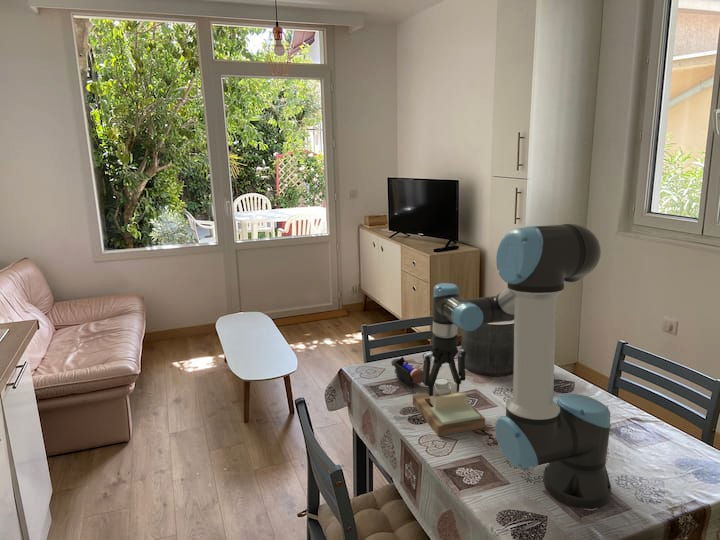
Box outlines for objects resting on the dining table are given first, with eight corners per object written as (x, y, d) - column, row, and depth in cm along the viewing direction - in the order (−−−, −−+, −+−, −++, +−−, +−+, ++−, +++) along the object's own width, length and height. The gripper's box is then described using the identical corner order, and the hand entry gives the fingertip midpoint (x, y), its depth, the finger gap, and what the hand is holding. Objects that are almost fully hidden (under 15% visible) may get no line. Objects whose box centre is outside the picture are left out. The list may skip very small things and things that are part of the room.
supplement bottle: (443, 403, 166) (442, 375, 163) (454, 409, 161) (454, 381, 159) (430, 408, 163) (429, 381, 160) (442, 415, 158) (441, 387, 156)
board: (484, 427, 152) (485, 418, 151) (438, 436, 148) (438, 426, 147) (454, 397, 171) (455, 388, 170) (412, 403, 167) (412, 395, 166)
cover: (480, 418, 151) (480, 405, 150) (442, 424, 148) (443, 411, 147) (466, 404, 159) (466, 391, 158) (430, 409, 156) (430, 397, 155)
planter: (510, 382, 181) (513, 328, 176) (451, 368, 193) (453, 317, 188) (527, 360, 199) (530, 311, 194) (473, 349, 211) (475, 302, 206)
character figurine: (404, 372, 191) (426, 388, 178) (387, 374, 188) (408, 391, 175) (405, 352, 189) (428, 367, 176) (388, 354, 186) (410, 370, 173)
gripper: (467, 326, 162) (465, 393, 168) (410, 333, 157) (410, 401, 162) (479, 334, 155) (476, 404, 160) (420, 341, 150) (419, 413, 155)
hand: (443, 402), depth 161 cm, fingers open, 6 cm apart
